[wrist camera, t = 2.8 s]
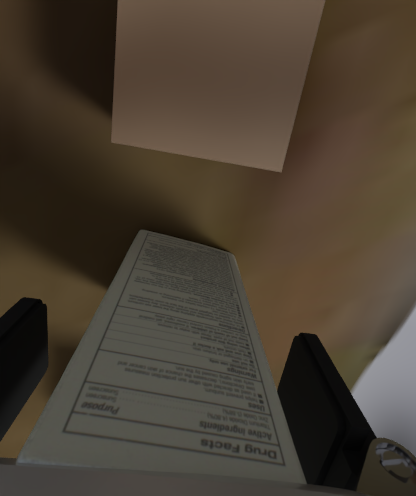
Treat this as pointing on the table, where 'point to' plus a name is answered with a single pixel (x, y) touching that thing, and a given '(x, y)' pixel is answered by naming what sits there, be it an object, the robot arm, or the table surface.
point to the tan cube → (212, 76)
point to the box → (169, 375)
